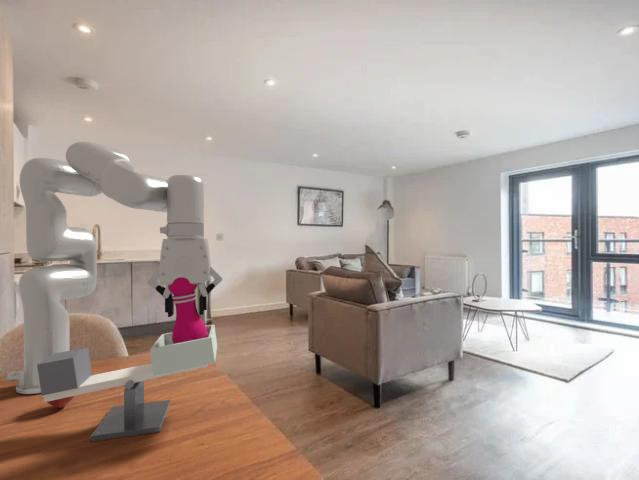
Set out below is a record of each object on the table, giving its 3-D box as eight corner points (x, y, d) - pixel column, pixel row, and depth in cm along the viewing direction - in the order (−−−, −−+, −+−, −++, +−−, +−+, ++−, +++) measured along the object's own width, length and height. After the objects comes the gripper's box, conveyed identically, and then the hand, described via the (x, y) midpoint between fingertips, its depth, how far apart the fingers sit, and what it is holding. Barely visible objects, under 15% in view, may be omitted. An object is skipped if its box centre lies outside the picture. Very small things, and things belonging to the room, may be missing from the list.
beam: (36, 413, 62) (29, 369, 61) (66, 386, 73) (61, 349, 73) (216, 373, 70) (210, 334, 69) (218, 355, 81) (213, 321, 81)
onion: (51, 416, 73) (51, 379, 73) (40, 409, 76) (40, 374, 76) (81, 405, 78) (81, 370, 78) (70, 399, 81) (70, 366, 81)
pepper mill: (198, 361, 69) (185, 265, 69) (167, 363, 71) (154, 269, 70) (216, 348, 76) (204, 261, 76) (187, 350, 78) (175, 265, 77)
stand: (90, 441, 64) (90, 398, 64) (112, 411, 75) (112, 375, 75) (159, 431, 67) (159, 391, 67) (170, 404, 78) (170, 369, 78)
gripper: (138, 231, 68) (138, 321, 68) (226, 231, 72) (226, 315, 72) (147, 233, 75) (147, 314, 75) (226, 233, 80) (227, 309, 79)
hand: (186, 314), depth 74 cm, fingers open, 5 cm apart
